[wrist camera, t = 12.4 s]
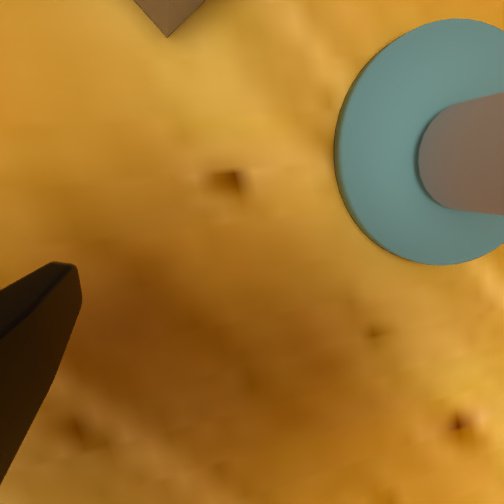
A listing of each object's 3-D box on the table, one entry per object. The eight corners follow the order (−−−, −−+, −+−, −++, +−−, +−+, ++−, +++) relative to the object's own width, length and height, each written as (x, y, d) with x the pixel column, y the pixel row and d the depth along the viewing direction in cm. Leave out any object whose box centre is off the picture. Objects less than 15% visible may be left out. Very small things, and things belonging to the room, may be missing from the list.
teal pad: (523, 259, 23) (539, 263, 22) (327, 263, 21) (335, 268, 20) (553, 36, 21) (572, 30, 20) (340, 15, 19) (350, 6, 18)
